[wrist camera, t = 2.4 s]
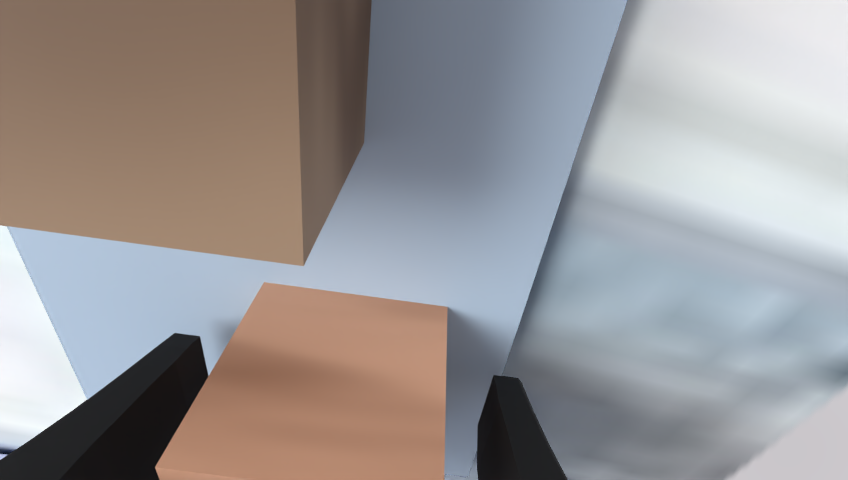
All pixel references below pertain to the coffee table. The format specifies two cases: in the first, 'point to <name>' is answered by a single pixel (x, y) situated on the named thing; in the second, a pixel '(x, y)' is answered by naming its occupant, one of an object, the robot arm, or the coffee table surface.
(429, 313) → the terracotta block
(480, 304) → the board
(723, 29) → the coffee table surface
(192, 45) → the base brick
